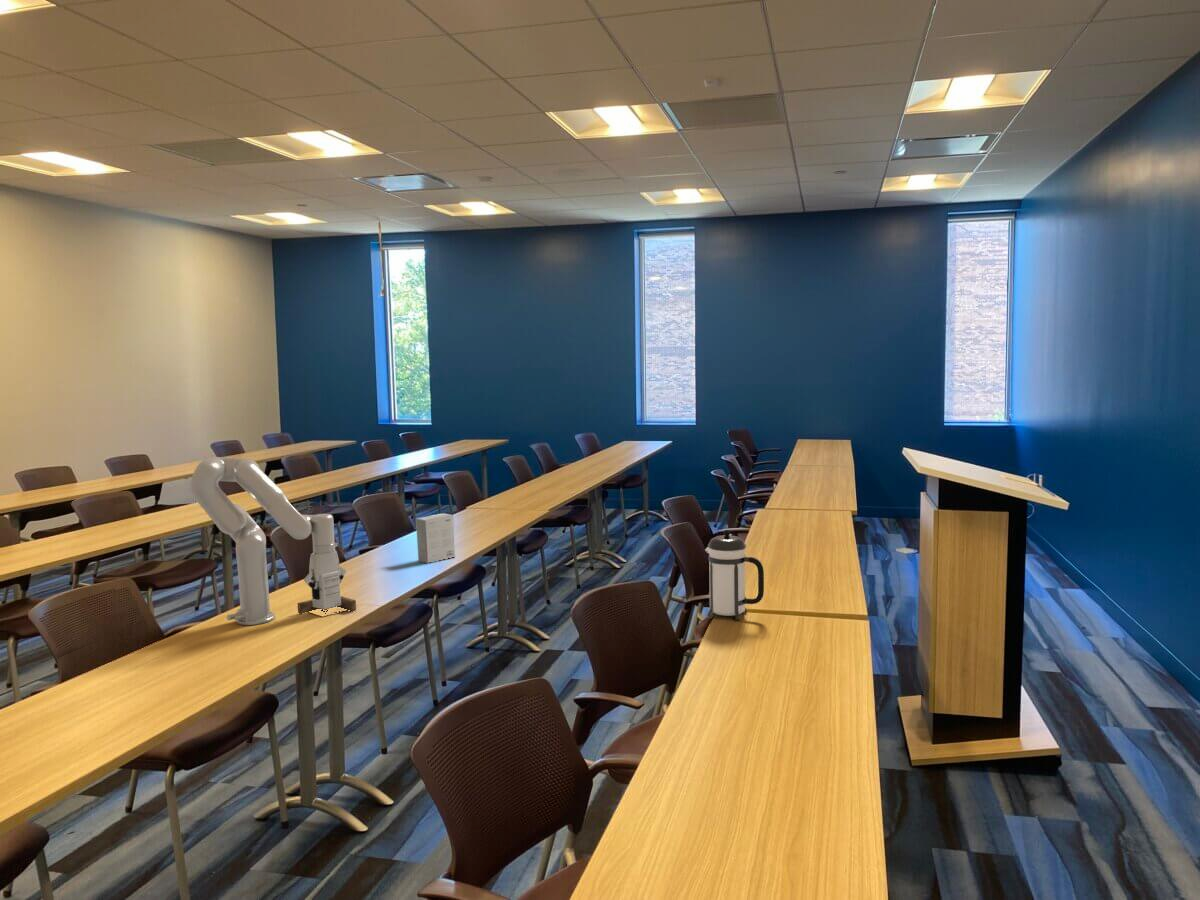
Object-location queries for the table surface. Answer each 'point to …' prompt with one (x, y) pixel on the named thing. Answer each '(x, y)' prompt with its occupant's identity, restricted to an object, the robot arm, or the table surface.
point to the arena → (308, 606)
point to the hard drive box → (435, 537)
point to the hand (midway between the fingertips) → (326, 596)
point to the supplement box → (328, 591)
